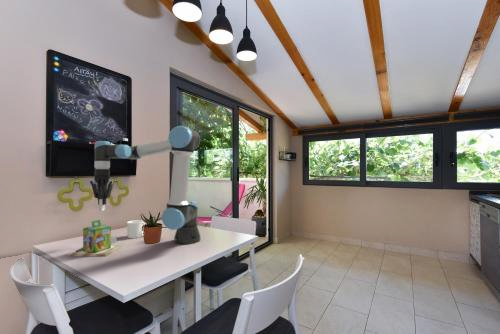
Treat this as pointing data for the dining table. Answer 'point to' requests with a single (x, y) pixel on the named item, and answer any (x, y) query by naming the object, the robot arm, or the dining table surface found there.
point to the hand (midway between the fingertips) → (102, 210)
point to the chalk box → (96, 237)
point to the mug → (135, 229)
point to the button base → (113, 239)
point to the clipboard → (100, 253)
